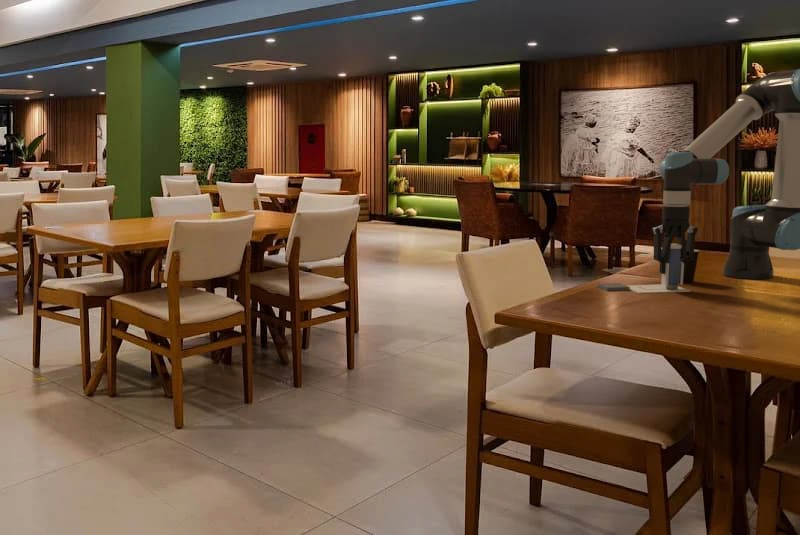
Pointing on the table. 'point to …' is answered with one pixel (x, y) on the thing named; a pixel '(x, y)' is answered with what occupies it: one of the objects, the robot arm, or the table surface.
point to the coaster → (613, 287)
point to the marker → (674, 266)
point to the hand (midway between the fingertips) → (671, 284)
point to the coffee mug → (691, 268)
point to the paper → (654, 289)
